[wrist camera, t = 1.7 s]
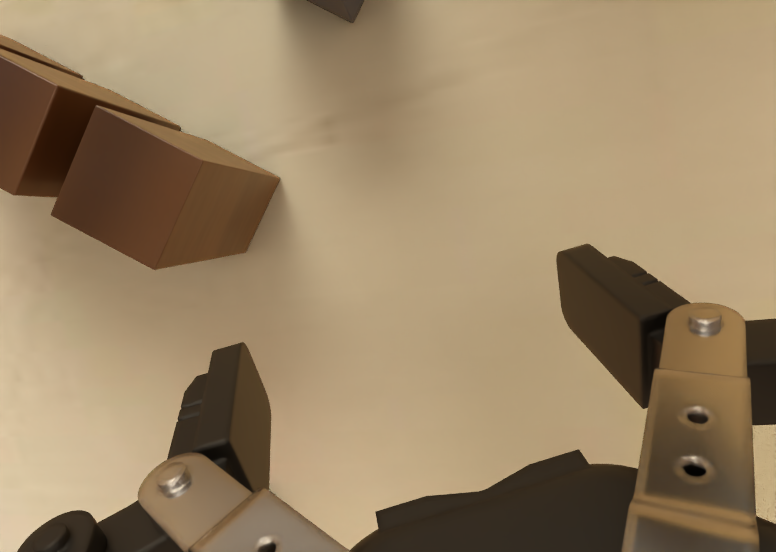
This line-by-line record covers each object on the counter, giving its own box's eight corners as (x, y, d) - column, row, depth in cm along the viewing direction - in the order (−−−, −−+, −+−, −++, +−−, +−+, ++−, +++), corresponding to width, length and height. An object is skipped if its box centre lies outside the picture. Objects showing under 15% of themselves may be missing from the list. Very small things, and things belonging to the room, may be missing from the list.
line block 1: (181, 126, 31) (58, 85, 21) (148, 202, 32) (14, 196, 22) (108, 89, 31) (-48, 30, 21) (77, 165, 32) (-89, 142, 22)
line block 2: (280, 178, 31) (203, 160, 21) (245, 253, 31) (154, 270, 21) (206, 140, 31) (95, 104, 21) (173, 215, 32) (49, 215, 22)
